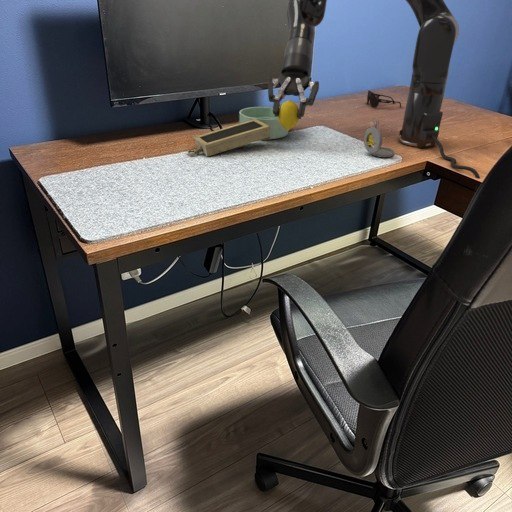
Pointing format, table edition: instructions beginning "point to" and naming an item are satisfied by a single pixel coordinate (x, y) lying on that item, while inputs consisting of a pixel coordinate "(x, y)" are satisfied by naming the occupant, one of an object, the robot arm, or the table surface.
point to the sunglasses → (377, 99)
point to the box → (231, 137)
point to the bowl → (264, 120)
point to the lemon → (288, 114)
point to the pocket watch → (376, 142)
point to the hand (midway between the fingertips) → (287, 116)
